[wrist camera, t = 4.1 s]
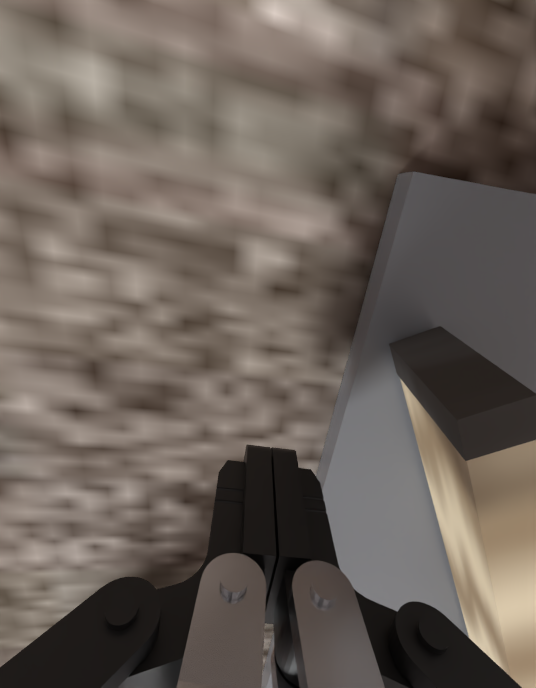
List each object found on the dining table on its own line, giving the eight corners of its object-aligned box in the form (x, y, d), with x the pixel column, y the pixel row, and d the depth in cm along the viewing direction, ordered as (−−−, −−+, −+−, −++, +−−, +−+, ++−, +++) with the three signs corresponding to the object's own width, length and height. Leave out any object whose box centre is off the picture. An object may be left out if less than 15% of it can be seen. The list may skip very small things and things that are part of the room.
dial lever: (538, 685, 20) (658, 893, 14) (460, 702, 20) (544, 911, 14) (482, 311, 11) (733, 439, 5) (349, 357, 12) (443, 521, 6)
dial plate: (397, 173, 11) (413, 171, 10) (926, 272, 13) (991, 279, 12) (261, 677, 22) (261, 704, 20) (562, 694, 23) (578, 719, 22)
